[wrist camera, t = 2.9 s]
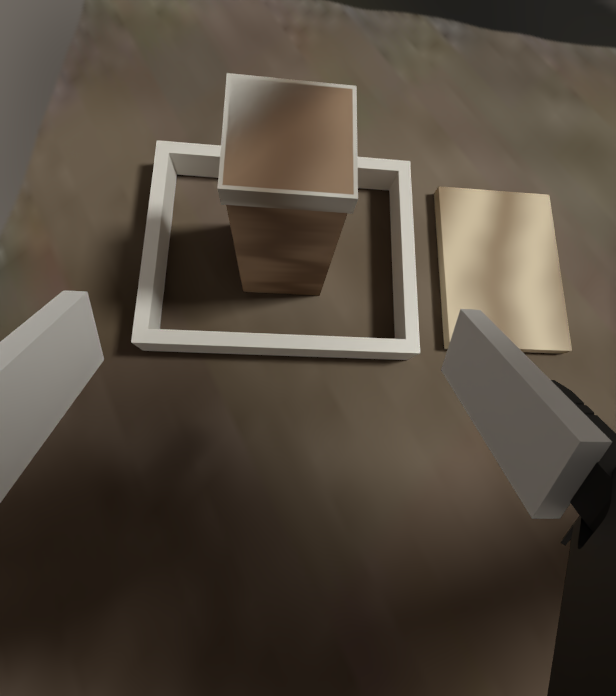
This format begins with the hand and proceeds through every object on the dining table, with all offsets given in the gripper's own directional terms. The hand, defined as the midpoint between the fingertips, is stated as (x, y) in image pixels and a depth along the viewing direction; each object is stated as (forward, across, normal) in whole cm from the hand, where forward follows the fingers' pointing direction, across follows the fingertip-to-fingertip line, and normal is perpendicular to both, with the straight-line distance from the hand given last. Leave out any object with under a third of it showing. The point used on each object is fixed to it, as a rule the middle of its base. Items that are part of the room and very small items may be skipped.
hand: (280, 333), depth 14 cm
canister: (+18, 0, -3) cm, 18 cm away
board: (+18, +18, -3) cm, 26 cm away
